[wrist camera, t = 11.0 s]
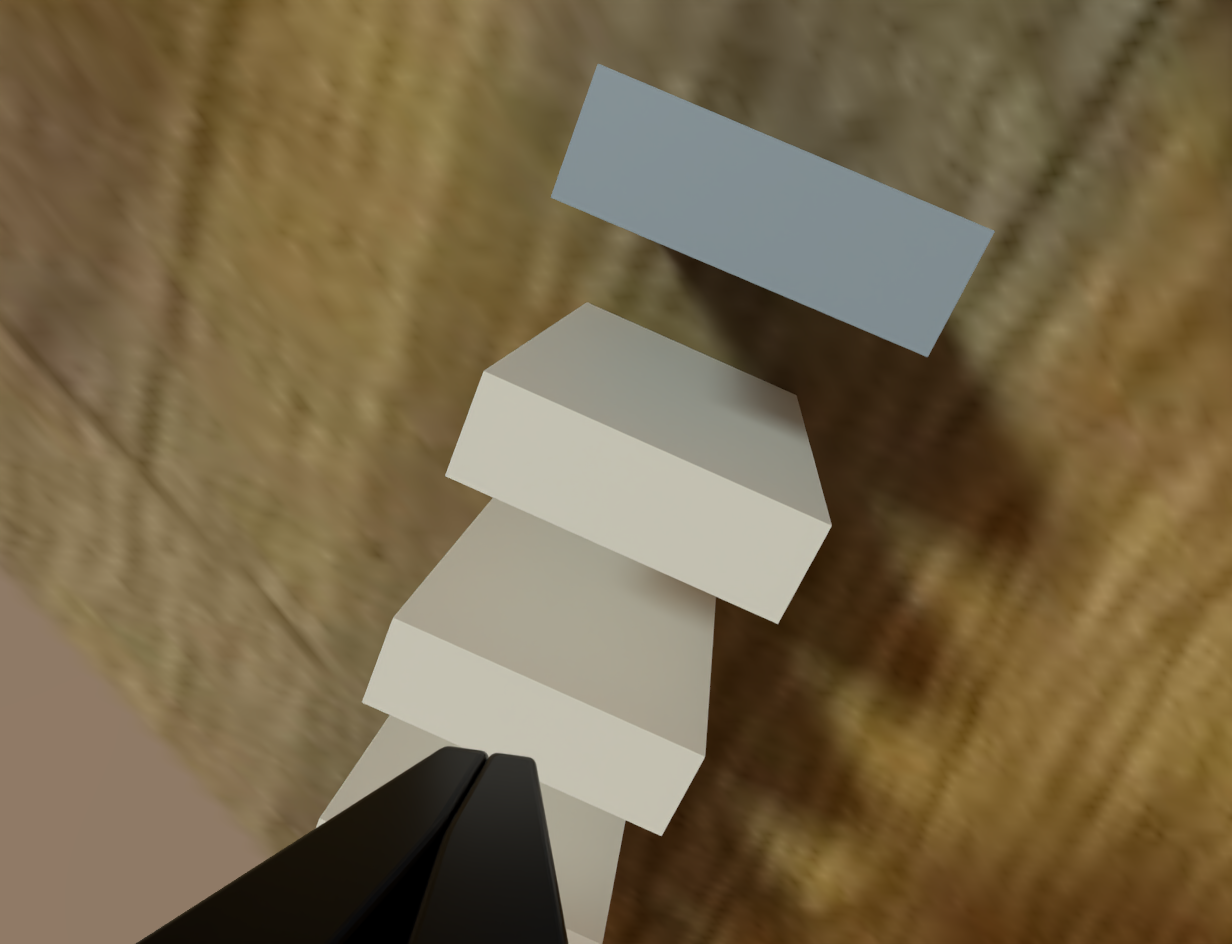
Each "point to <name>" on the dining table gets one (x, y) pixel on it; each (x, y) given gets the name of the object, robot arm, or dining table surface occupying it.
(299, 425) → the dining table surface
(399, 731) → the domino
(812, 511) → the domino
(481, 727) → the domino
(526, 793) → the robot arm
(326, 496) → the dining table surface
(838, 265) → the domino
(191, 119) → the dining table surface
